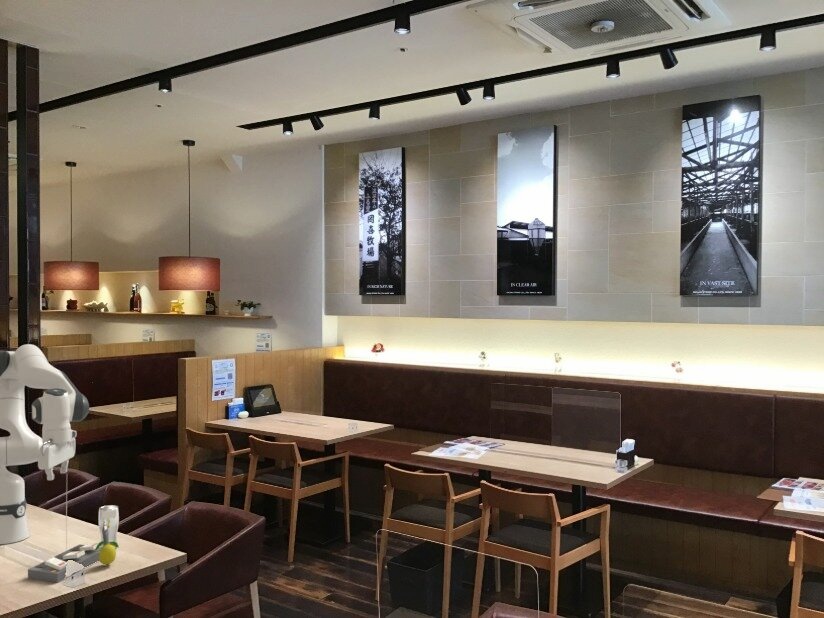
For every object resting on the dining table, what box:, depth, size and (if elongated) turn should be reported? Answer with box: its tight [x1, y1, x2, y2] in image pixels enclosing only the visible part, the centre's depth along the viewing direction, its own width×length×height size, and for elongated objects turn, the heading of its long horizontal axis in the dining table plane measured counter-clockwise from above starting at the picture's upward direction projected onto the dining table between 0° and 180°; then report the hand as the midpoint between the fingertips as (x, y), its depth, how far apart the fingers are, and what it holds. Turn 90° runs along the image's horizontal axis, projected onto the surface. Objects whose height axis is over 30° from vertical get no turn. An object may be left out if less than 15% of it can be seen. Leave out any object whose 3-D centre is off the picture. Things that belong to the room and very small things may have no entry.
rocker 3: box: [80, 542, 100, 551], centre depth 262 cm, size 6×4×1 cm, turn 73°
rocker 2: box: [63, 551, 85, 560], centre depth 254 cm, size 6×4×1 cm, turn 73°
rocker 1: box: [45, 556, 68, 570], centre depth 246 cm, size 6×4×1 cm, turn 74°
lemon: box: [95, 537, 119, 566], centre depth 256 cm, size 7×6×10 cm
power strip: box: [27, 544, 102, 584], centre depth 255 cm, size 12×24×3 cm, turn 163°
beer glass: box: [98, 504, 120, 550], centre depth 272 cm, size 7×7×15 cm
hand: (57, 476), depth 254 cm, fingers open, 8 cm apart
